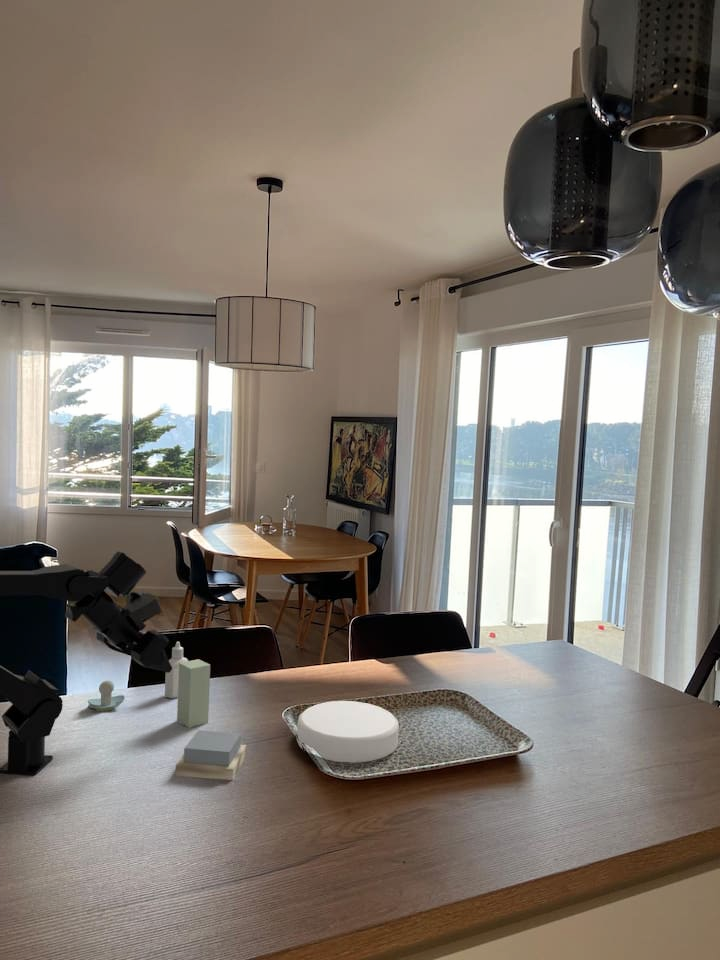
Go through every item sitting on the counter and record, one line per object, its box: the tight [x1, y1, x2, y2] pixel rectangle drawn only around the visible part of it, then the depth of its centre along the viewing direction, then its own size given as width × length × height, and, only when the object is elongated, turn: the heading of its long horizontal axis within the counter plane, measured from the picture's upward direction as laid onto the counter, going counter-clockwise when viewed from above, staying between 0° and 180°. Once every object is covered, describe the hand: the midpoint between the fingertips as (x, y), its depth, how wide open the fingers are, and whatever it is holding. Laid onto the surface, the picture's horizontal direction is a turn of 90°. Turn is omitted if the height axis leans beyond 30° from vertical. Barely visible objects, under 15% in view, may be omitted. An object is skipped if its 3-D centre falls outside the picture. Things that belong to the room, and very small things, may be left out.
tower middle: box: [183, 729, 242, 766], centre depth 128 cm, size 8×8×2 cm
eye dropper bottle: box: [164, 641, 189, 699], centre depth 161 cm, size 4×6×12 cm
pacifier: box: [87, 680, 125, 712], centre depth 152 cm, size 7×6×6 cm
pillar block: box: [176, 658, 211, 729], centre depth 147 cm, size 4×4×12 cm
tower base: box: [175, 744, 247, 781], centre depth 128 cm, size 10×10×2 cm
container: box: [296, 700, 400, 763], centre depth 142 cm, size 20×20×5 cm
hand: (158, 664), depth 141 cm, fingers open, 9 cm apart
